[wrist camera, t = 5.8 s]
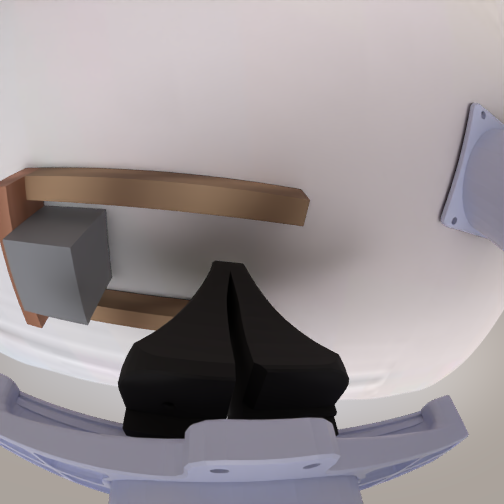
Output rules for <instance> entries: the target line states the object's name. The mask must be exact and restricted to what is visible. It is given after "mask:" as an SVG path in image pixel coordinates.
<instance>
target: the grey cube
mask: <svg viewBox="0 0 504 504" xmlns="http://www.w3.org/2000/svg"><path fill="white" fill-rule="evenodd" d="M3 244H4V248H5V252H6V256H7V259H8V263H9V266H10V270H11V273H12V276H13V279H14V283H15V286H16V289H17V291H18V294H19V297H20V300H21V302H22V305H23V308H24V310H25V311H28V312H32V313H36V314H40V315H44V316H48V317H52V318H57V319H61V320H66V321H70V322H75V323H80V324H85V325H88V324H89V322H90V319H91V317H92V315H93V313H94V311H95V309H96V307H97V305H98V303H99V301H100V299H101V297H102V295H103V293H104V291H105V289H106V287H107V285H108V284H109V282H110V280H111V278H112V272H111V264H110V256H109V246H108V235H107V221H106V209H93V208H77V207H60V206H43V207H42V208H41V209H39V210H38V211H37V212H35V213H34V214H33V215H31V216H30V217H29V218H27V219H26V220H25V221H24V222H22V223H21V224H20V225H19V226H18V227H16V228H15V229H14V230H13V231H12V232H10V233H9V234H8V235H7V236H6V237H5V238H3Z"/></svg>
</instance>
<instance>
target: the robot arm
mask: <svg viewBox="0 0 504 504" xmlns="http://www.w3.org/2000/svg"><path fill="white" fill-rule="evenodd" d="M452 219H453V220H452ZM441 223H442V224H443V225H445V226H446V227H449V228H453V229H456V230H460V231H463V232H467V233H470V234H474V235H477V236H480V237H483V238H487V239H489V240H490V241H492V242H493V243H494V244H495V245H497V246H498V247H499V248H500V249H502V250H503V251H504V124H503V123H502V122H500V121H499V120H498V119H497V118H496V117H495V116H493V115H492V114H491V113H490V112H489V111H487V110H486V109H485V108H484V107H483V106H481V105H480V104H478V103H472V105H471V107H470V112H469V118H468V123H467V128H466V133H465V138H464V142H463V146H462V150H461V154H460V158H459V162H458V166H457V169H456V173H455V176H454V179H453V183H452V186H451V189H450V192H449V195H448V198H447V201H446V204H445V207H444V210H443V213H442V215H441ZM348 384H349V377H348V375H347V372H346V369H345V367H344V364H343V362H342V360H341V358H340V356H339V354H337V353H335V352H333V351H331V350H329V349H327V348H325V347H324V346H322V345H320V344H318V343H316V342H315V341H313V340H312V339H310V338H309V337H307V336H306V335H304V334H303V333H302V332H300V331H299V330H298V329H296V328H295V327H294V326H293V325H291V324H290V323H289V322H288V321H287V320H285V319H284V318H283V317H282V316H281V315H280V314H279V313H278V312H277V311H276V310H275V309H274V308H273V307H272V305H271V304H270V303H269V302H268V300H267V299H266V298H265V297H264V295H263V294H262V293H261V291H260V290H259V288H258V287H257V286H256V284H255V282H254V281H253V279H252V278H251V276H250V274H249V273H248V271H247V269H246V267H245V266H244V264H241V263H232V262H222V261H214V262H213V263H212V267H211V269H210V272H209V274H208V275H207V277H206V279H205V281H204V282H203V284H202V285H201V287H200V288H199V290H198V291H197V292H196V294H195V295H194V296H193V298H192V299H191V300H190V301H189V302H188V303H187V305H186V306H185V307H184V308H183V309H182V310H181V311H180V312H179V313H178V314H176V315H175V316H174V317H173V318H172V319H171V320H170V321H168V322H167V323H166V324H164V325H163V326H162V327H160V328H159V329H158V330H156V331H155V332H153V333H152V334H150V335H148V336H146V337H145V338H143V339H141V340H139V341H137V342H135V343H134V344H133V346H132V348H131V349H130V351H129V353H128V355H127V357H126V359H125V361H124V364H123V366H122V369H121V373H120V377H119V381H118V387H119V391H120V394H121V396H122V399H123V401H124V404H125V406H126V412H125V417H124V422H123V424H122V423H117V422H113V421H108V420H105V419H101V418H97V417H93V416H89V415H85V414H82V413H79V412H76V411H72V410H69V409H66V408H63V407H60V406H57V405H54V404H51V403H49V402H46V401H43V400H41V399H38V398H36V397H33V396H31V395H28V394H26V393H24V392H21V391H20V390H19V388H18V387H17V385H16V384H15V383H14V381H13V380H11V379H10V378H9V377H7V376H5V375H3V374H1V373H0V446H2V447H4V448H5V449H7V450H9V451H10V452H12V453H14V454H16V455H18V456H19V457H21V458H23V459H25V460H27V461H29V462H31V463H33V464H35V465H37V466H39V467H41V468H43V469H45V470H47V471H49V472H51V473H54V474H56V475H58V476H60V477H63V478H65V479H68V480H70V481H73V482H75V483H78V484H80V485H83V486H86V487H89V488H92V489H94V490H97V491H101V492H104V493H107V494H109V504H363V501H362V497H361V494H360V490H363V489H366V488H369V487H372V486H375V485H378V484H381V483H383V482H386V481H389V480H391V479H394V478H396V477H399V476H401V475H403V474H406V473H408V472H410V471H413V470H415V469H417V468H419V467H422V466H424V465H426V464H428V463H430V462H432V461H434V460H436V459H437V458H439V457H440V456H442V455H443V454H445V453H446V452H448V451H449V450H451V449H452V448H453V447H455V446H456V445H457V444H459V443H460V442H461V441H463V440H464V439H465V438H467V437H468V435H469V434H468V432H467V430H466V428H465V426H464V423H463V421H462V419H461V417H460V415H459V413H458V411H457V409H456V407H455V406H454V404H453V402H452V400H451V398H450V396H449V395H446V396H443V397H440V398H437V399H434V400H432V401H430V402H428V403H427V404H426V405H425V406H424V407H423V408H422V409H421V411H419V412H415V413H412V414H408V415H405V416H401V417H397V418H394V419H390V420H385V421H381V422H376V423H372V424H367V425H362V426H357V427H351V428H345V429H340V430H338V429H337V426H336V422H335V419H334V416H335V415H336V413H337V411H336V408H335V403H336V402H337V401H338V399H339V398H340V397H341V395H342V394H343V393H344V391H345V390H346V388H347V386H348ZM227 417H228V418H227ZM226 418H227V419H226Z"/></svg>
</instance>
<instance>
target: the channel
mask: <svg viewBox="0 0 504 504" xmlns="http://www.w3.org/2000/svg"><path fill="white" fill-rule="evenodd" d="M43 201H57V202H74V203H89V204H103V205H116V206H128V207H139V208H150V209H161V210H171V211H181V212H191V213H200V214H210V215H218V216H227V217H236V218H244V219H252V220H260V221H268V222H275V223H283V224H290V225H298V226H303V225H304V222H305V218H306V214H307V210H308V206H309V202H310V200H309V198H308V197H307V196H306V195H305V193H304V192H303V191H302V190H301V189H295V188H290V187H283V186H277V185H271V184H264V183H257V182H250V181H243V180H235V179H228V178H219V177H211V176H202V175H192V174H182V173H170V172H158V171H144V170H128V169H106V168H25V169H23V170H21V171H19V172H17V173H15V174H13V175H11V176H9V177H7V178H5V179H3V180H2V181H0V243H1V247H2V251H3V255H4V259H5V262H6V266H7V269H8V272H9V276H10V279H11V282H12V285H13V288H14V291H15V294H16V296H17V299H18V302H19V305H20V307H21V310H22V312H23V315H24V317H25V320H26V322H27V324H29V325H33V326H36V327H39V328H42V327H43V326H44V324H45V322H46V320H47V319H48V316H44V315H40V314H36V313H32V312H28V311H25V310H24V308H23V305H22V302H21V300H20V297H19V294H18V291H17V289H16V286H15V283H14V279H13V276H12V273H11V270H10V266H9V263H8V259H7V256H6V252H5V248H4V244H3V238H5V237H6V236H7V235H8V234H9V233H10V232H12V231H13V230H14V229H15V228H16V227H18V226H19V225H20V224H21V223H22V222H24V221H25V220H26V219H27V218H29V217H30V216H31V215H33V214H34V213H35V212H37V211H38V210H39V209H41V208H42V207H43V206H44V203H43ZM189 301H190V300H184V299H175V298H166V297H158V296H150V295H142V294H135V293H128V292H121V291H114V290H107V289H105V291H104V293H103V295H102V297H101V299H100V301H99V303H98V305H97V307H96V309H95V311H94V313H93V315H92V317H91V319H90V320H94V321H100V322H105V323H111V324H117V325H123V326H129V327H135V328H142V329H149V330H158V329H159V328H160V327H162V326H163V325H164V324H166V323H167V322H168V321H170V320H171V319H172V318H173V317H174V316H175V315H176V314H178V313H179V312H180V311H181V310H182V309H183V308H184V307H185V306H186V305H187V303H188V302H189Z"/></svg>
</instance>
